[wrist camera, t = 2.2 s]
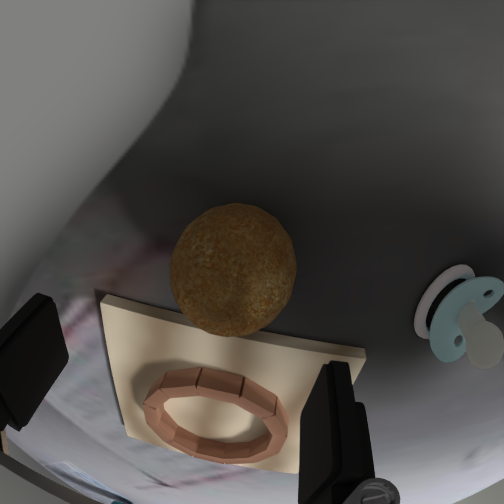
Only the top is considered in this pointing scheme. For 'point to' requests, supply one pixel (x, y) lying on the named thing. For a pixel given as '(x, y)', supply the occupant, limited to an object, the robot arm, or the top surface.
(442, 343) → the pacifier
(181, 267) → the fruit
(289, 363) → the ring board
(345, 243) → the top surface
